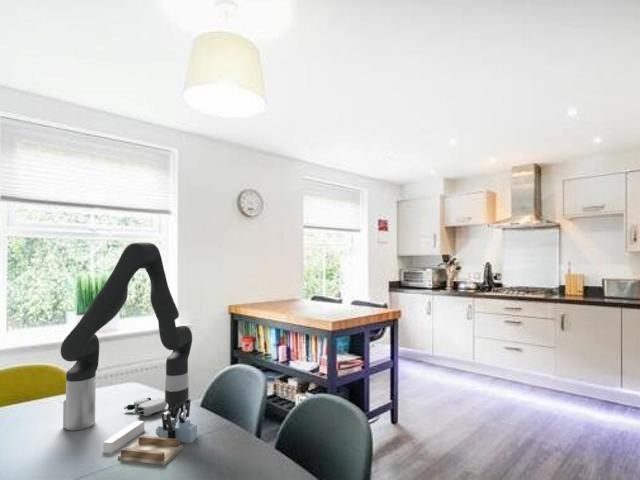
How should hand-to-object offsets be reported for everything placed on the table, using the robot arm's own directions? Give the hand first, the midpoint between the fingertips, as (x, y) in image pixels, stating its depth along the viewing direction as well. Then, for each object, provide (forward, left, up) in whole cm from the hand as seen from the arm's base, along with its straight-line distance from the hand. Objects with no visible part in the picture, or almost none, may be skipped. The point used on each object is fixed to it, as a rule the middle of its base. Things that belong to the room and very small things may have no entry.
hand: (176, 436), depth 131 cm
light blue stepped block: (0, 0, -1) cm, 1 cm away
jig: (-2, -11, 0) cm, 11 cm away
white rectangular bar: (-16, -5, -1) cm, 17 cm away
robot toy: (-24, +18, -1) cm, 30 cm away
